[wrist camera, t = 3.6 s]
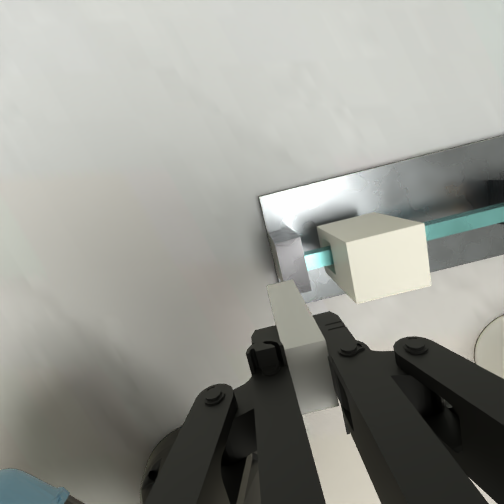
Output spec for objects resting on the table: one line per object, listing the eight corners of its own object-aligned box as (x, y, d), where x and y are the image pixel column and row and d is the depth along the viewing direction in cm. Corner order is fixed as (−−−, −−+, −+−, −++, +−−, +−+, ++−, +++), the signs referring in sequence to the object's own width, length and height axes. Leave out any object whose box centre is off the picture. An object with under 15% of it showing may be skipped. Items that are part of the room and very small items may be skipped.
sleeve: (325, 272, 27) (356, 304, 20) (316, 226, 26) (345, 242, 19) (380, 258, 27) (431, 285, 20) (373, 212, 26) (424, 223, 19)
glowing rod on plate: (283, 303, 31) (298, 340, 24) (258, 196, 29) (266, 201, 21) (524, 243, 31) (612, 262, 24) (520, 131, 29) (616, 113, 21)
